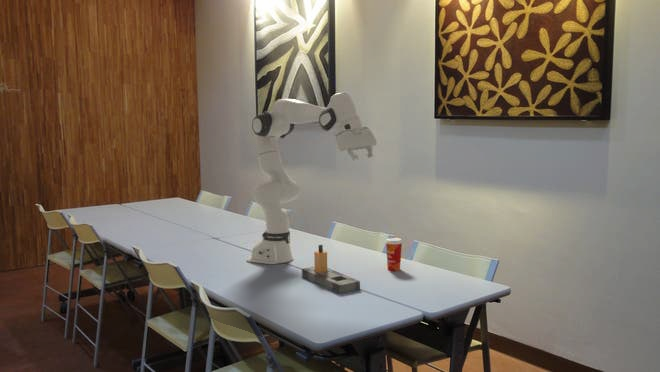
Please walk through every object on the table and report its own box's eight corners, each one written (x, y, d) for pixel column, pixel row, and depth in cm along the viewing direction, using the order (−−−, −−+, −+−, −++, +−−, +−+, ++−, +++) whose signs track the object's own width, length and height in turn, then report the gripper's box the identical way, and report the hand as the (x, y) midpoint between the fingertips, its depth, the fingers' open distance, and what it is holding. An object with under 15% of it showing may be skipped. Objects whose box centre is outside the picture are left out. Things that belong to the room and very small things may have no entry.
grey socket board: (302, 276, 260) (302, 268, 260) (321, 272, 265) (321, 265, 265) (339, 293, 235) (339, 285, 234) (360, 289, 240) (360, 281, 240)
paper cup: (382, 268, 272) (382, 238, 270) (397, 266, 274) (397, 237, 272) (390, 272, 264) (390, 242, 263) (405, 270, 267) (405, 240, 265)
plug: (314, 278, 257) (314, 244, 255) (322, 277, 259) (322, 243, 257) (319, 280, 253) (319, 246, 251) (327, 279, 255) (326, 245, 253)
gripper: (363, 129, 256) (374, 158, 253) (330, 133, 242) (341, 164, 239) (373, 123, 251) (384, 153, 249) (339, 126, 237) (351, 158, 235)
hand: (363, 158), depth 244 cm, fingers open, 8 cm apart
